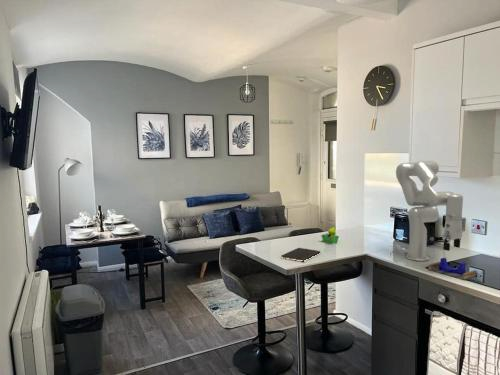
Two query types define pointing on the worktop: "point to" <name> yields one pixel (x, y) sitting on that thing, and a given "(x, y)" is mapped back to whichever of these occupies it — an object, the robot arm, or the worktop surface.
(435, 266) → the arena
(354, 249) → the worktop surface
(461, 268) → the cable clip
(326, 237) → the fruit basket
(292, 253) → the dark spiral notebook
